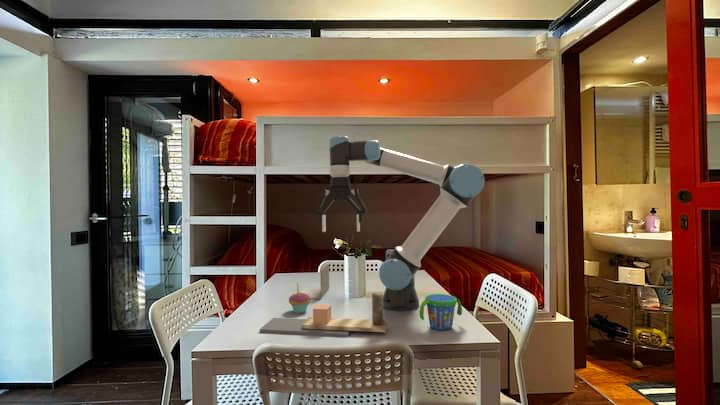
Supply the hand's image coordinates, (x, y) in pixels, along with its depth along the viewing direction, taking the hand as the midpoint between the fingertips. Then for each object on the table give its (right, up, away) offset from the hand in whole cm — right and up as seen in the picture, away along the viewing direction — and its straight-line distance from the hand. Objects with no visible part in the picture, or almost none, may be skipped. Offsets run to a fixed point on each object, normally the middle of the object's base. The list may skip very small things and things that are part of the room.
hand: (341, 231), depth 145 cm
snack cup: (+35, -32, -17) cm, 50 cm away
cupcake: (-17, -32, +2) cm, 36 cm away
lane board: (-10, -32, -17) cm, 38 cm away
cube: (-6, -29, -18) cm, 35 cm away
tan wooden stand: (+2, -30, -19) cm, 36 cm away
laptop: (-15, -32, +28) cm, 45 cm away
